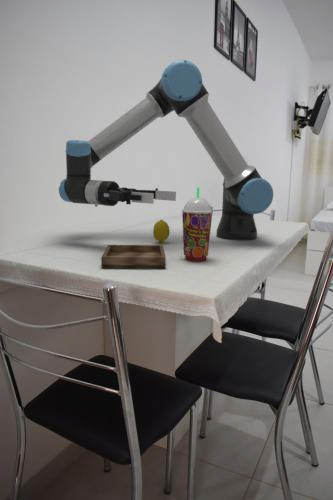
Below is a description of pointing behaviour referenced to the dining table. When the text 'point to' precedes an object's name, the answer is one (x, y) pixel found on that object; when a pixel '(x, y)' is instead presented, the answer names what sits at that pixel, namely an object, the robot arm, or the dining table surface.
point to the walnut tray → (134, 257)
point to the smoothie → (196, 228)
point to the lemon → (161, 231)
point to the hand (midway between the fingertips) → (164, 197)
